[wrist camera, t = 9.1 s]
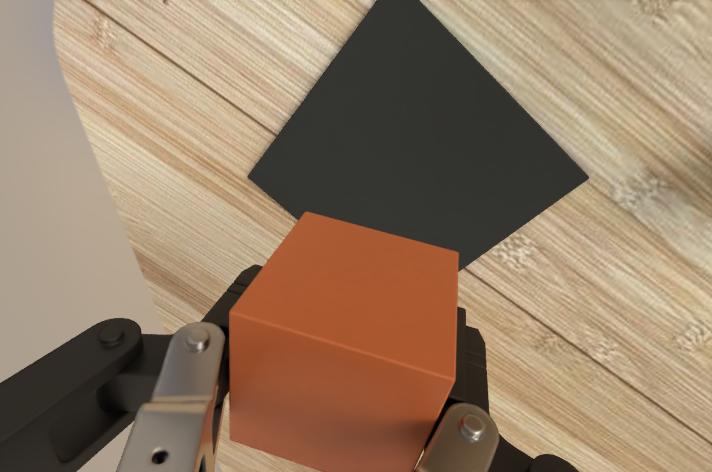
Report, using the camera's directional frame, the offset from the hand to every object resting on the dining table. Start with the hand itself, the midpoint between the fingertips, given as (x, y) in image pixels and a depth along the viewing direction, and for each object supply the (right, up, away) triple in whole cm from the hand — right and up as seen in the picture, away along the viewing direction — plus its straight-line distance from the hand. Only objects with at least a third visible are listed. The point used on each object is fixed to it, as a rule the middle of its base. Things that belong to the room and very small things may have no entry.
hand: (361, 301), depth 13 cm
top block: (0, 0, +1) cm, 1 cm away
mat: (+3, +6, +10) cm, 12 cm away
